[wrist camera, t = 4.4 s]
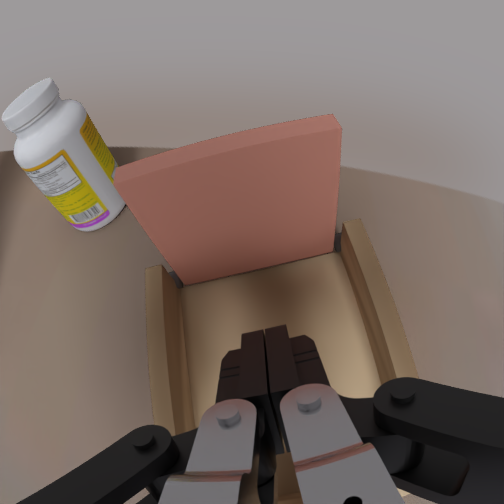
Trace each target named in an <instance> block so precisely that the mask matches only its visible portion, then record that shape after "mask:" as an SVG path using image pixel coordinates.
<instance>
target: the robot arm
mask: <svg viewBox="0 0 504 504" xmlns="http://www.w3.org/2000/svg"><path fill="white" fill-rule="evenodd" d="M283 440H284V443H283ZM284 444H285V447H286V451H287V453H288V452H291V455H292V459H293V463H294V468H295V472H296V476H297V480H298V484H299V488H300V492H301V496H302V500H303V504H405V502H404V501H403V499H402V497H401V495H400V493H399V491H398V489H401V490H403V491H406V492H408V493H411V494H413V495H416V496H419V497H421V498H424V499H427V500H429V501H432V502H435V503H438V504H504V398H502V397H497V396H492V395H487V394H482V393H478V392H473V391H468V390H464V389H459V388H455V387H451V386H446V385H442V384H438V383H434V382H430V381H426V380H422V379H418V378H413V377H401V378H396V379H392V380H390V381H387V382H385V383H384V384H382V385H381V386H380V387H379V388H378V389H377V390H376V391H375V393H374V396H373V397H371V398H348V397H344V396H342V395H339V394H338V393H337V392H336V391H335V390H334V389H333V388H332V387H331V386H330V383H329V380H328V377H327V375H326V372H325V369H324V367H323V364H322V361H321V358H320V356H319V353H318V351H317V348H316V345H315V342H314V340H312V339H311V338H309V337H308V336H306V335H301V336H296V337H292V338H289V335H288V330H287V326H286V324H284V325H280V326H275V327H271V328H266V329H265V333H264V330H263V329H262V330H257V331H253V332H248V333H243V334H242V335H241V349H235V350H230V351H228V353H227V354H226V355H225V356H224V358H223V359H222V361H221V367H220V374H219V381H218V387H217V394H216V401H215V405H213V406H211V407H210V408H209V409H207V410H206V411H205V413H204V414H203V415H202V418H201V421H200V424H199V427H198V428H196V429H193V430H191V431H188V432H185V433H181V434H178V435H175V436H171V434H170V432H169V431H168V430H167V429H166V428H165V427H162V426H159V425H146V426H142V427H139V428H137V429H135V430H133V431H131V432H130V433H128V434H127V435H125V436H124V437H122V438H121V439H120V440H118V441H117V442H115V443H114V444H112V445H111V446H109V447H108V448H106V449H105V450H103V451H102V452H100V453H99V454H97V455H96V456H94V457H93V458H91V459H89V460H88V461H86V462H85V463H83V464H82V465H80V466H79V467H77V468H75V469H74V470H72V471H71V472H69V473H67V474H66V475H64V476H63V477H61V478H59V479H58V480H56V481H54V482H53V483H51V484H49V485H48V486H46V487H44V488H43V489H41V490H39V491H38V492H36V493H34V494H32V495H31V496H29V497H27V498H25V499H24V500H22V501H20V502H18V503H16V504H123V503H125V502H126V501H127V500H129V499H130V498H131V497H133V496H134V495H136V494H137V493H138V492H140V491H141V490H142V489H144V488H146V489H147V490H148V492H149V493H150V494H148V495H147V496H146V497H144V498H143V499H142V500H140V501H139V502H138V503H136V504H277V503H278V474H277V471H276V468H277V462H276V455H278V454H284V453H285V451H284ZM397 488H398V489H397Z"/></svg>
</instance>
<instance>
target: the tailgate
mask: <svg viewBox="0 0 504 504" xmlns="http://www.w3.org/2000/svg"><path fill="white" fill-rule="evenodd" d="M341 137H342V128H341V126H340V124H339V123H338V121H337V120H336V118H335V117H334V115H333V114H328V115H322V116H316V117H310V118H305V119H299V120H293V121H288V122H283V123H278V124H273V125H269V126H263V127H259V128H254V129H250V130H246V131H241V132H237V133H233V134H228V135H225V136H220V137H216V138H213V139H209V140H205V141H201V142H197V143H194V144H190V145H187V146H183V147H180V148H176V149H173V150H169V151H166V152H163V153H159V154H156V155H153V156H150V157H147V158H144V159H141V160H137V161H134V162H131V163H128V164H126V165H123V166H120V167H117V168H116V170H115V176H114V182H113V185H114V187H115V188H116V190H117V191H118V193H119V194H120V196H121V197H122V199H123V200H124V202H125V203H126V205H127V206H128V207H129V209H130V210H131V212H132V213H133V215H134V216H135V218H136V219H137V220H138V222H139V223H140V225H141V226H142V227H143V229H144V230H145V232H146V233H147V234H148V236H149V237H150V239H151V240H152V241H153V243H154V244H155V246H156V247H157V248H158V250H159V251H160V252H161V254H162V255H163V257H164V258H165V259H166V261H167V262H168V263H169V265H170V266H171V267H172V269H173V270H174V271H175V273H176V274H177V275H178V277H179V278H180V279H181V281H182V282H183V283H184V284H185V285H190V284H194V283H199V282H204V281H208V280H212V279H217V278H221V277H226V276H230V275H235V274H239V273H244V272H248V271H252V270H257V269H261V268H265V267H270V266H274V265H278V264H283V263H287V262H291V261H295V260H300V259H304V258H308V257H312V256H317V255H321V254H325V253H329V252H333V247H334V237H335V226H336V215H337V203H338V190H339V175H340V158H341Z"/></svg>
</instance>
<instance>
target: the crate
mask: <svg viewBox="0 0 504 504" xmlns="http://www.w3.org/2000/svg"><path fill="white" fill-rule="evenodd" d="M334 248H335V250H336V252H334V253H330V254H326V255H322V256H317V257H313V258H309V259H305V260H301V261H296V262H292V263H288V264H283V265H279V266H275V267H271V268H266V269H262V270H257V271H253V272H249V273H244V274H240V275H236V276H231V277H227V278H222V279H218V280H213V281H209V282H204V283H200V284H195V285H191V286H186V287H183V282H182V281H181V279H180V278H179V277H178V275H177V274H176V273H175V271H174V272H169V273H168V272H167V271H166V269H165V268H164V267H163V265H162V264H161V265H157V266H153V267H148V268H145V298H146V330H147V349H148V365H149V378H150V390H151V400H152V410H153V419H154V425H159V426H162V427H165V428H166V429H167V430H168V431H169V432H170V434H171V436H175V435H178V434H181V433H185V432H188V431H191V430H193V429H196V428H198V427H199V424H200V421H201V418H202V415H203V414H204V413H205V411H206V410H207V409H209V408H210V407H211V406H213V405H215V401H216V394H217V387H218V381H219V374H220V367H221V361H222V359H223V358H224V356H225V355H226V354H227V353H228V351H230V350H235V349H241V335H242V334H243V333H248V332H253V331H257V330H262V329H263V330H264V333H265V329H266V328H271V327H275V326H280V325H284V324H286V326H287V330H288V335H289V338H292V337H296V336H301V335H306V336H308V337H309V338H311V339H312V340H314V342H315V345H316V348H317V351H318V353H319V356H320V358H321V361H322V364H323V367H324V369H325V372H326V375H327V377H328V380H329V383H330V386H331V387H332V388H333V389H334V390H335V391H336V392H337V393H338V394H339V395H342V396H344V397H348V398H371V397H373V396H374V393H375V391H376V390H377V389H378V388H379V387H380V386H381V385H382V384H384V383H385V382H387V381H390V380H392V379H396V378H401V377H413V378H418V379H419V377H418V374H417V370H416V367H415V364H414V360H413V357H412V354H411V351H410V347H409V344H408V341H407V338H406V335H405V332H404V329H403V326H402V323H401V320H400V317H399V315H398V312H397V309H396V306H395V303H394V301H393V298H392V295H391V292H390V290H389V287H388V284H387V282H386V279H385V277H384V274H383V271H382V269H381V266H380V264H379V261H378V259H377V256H376V254H375V252H374V249H373V247H372V244H371V242H370V240H369V237H368V235H367V233H366V230H365V228H364V226H363V223H362V221H361V219H360V218H359V219H355V220H350V221H346V222H343V227H342V233H338V234H335V237H334ZM283 443H284V440H283ZM284 451H285V453H284V454H278V455H276V462H277V468H276V471H277V474H278V503H277V504H303V500H302V496H301V492H300V488H299V484H298V480H297V476H296V472H295V468H294V463H293V459H292V455H291V452H288V453H287V451H286V447H285V444H284ZM397 489H398V488H397ZM398 491H399V493H400V495H401V497H403V496H406V495H408V494H411V493H408V492H406V491H403V490H401V489H398Z"/></svg>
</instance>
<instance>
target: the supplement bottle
mask: <svg viewBox="0 0 504 504" xmlns="http://www.w3.org/2000/svg"><path fill="white" fill-rule="evenodd" d="M58 90H59V89H58V87H57V86H56V84H55V83H54V81H53V79H51V78H47V79H44V80H42V81H39V82H37V83H36V84H35V85H33V86H31V87H30V88H28V89H27V90H26V91H24V92H23V93H22V94H21V95H19V96H18V97H17V98H16V99H15V100H14V101H13V102H12V103H11V104H10V105H9V106H8V107H7V109H6V110H5V111H4V113H3V115H2V121H3V122H4V124H5V125H6V127H7V128H8V130H9V131H12V132H13V133H15V134H16V136H17V139H16V142H15V145H14V156H15V159H16V161H17V163H18V164H19V165H20V167H21V168H22V169H23V170H24V172H25V173H26V174H27V175H28V176H29V178H30V179H31V180H32V181H33V182H34V183H35V185H36V186H37V187H38V188H39V189H40V191H41V192H42V193H43V194H44V195H45V196H46V198H47V199H48V200H49V201H50V202H51V203H52V204H53V205H54V206H55V208H56V209H57V210H58V211H59V212H60V213H61V214H62V215H63V216H64V217H65V219H66V220H67V221H68V222H69V223H70V224H71V225H72V226H73V227H74V228H76V229H78V230H81V231H94V230H97V229H99V228H102V227H104V226H105V225H107V224H108V223H110V222H111V221H112V220H113V219H114V218H115V217H116V216H117V215H118V214H119V213H120V212H121V211H122V209H123V208H124V206H125V204H126V203H125V202H124V200H123V199H122V197H121V196H120V194H119V193H118V191H117V190H116V188H115V187H114V185H113V182H114V176H115V170H116V168H117V167H119V165H118V164H117V162H116V161H115V159H114V157H113V156H112V154H111V152H110V151H109V149H108V148H107V146H106V144H105V143H104V141H103V139H102V138H101V136H100V134H99V133H98V131H97V129H96V128H95V126H94V124H93V123H92V121H91V119H90V117H89V115H88V114H87V112H86V111H85V109H84V107H83V106H82V104H81V103H79V102H78V101H75V100H71V99H70V100H61V99H60V97H59V92H58Z"/></svg>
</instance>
